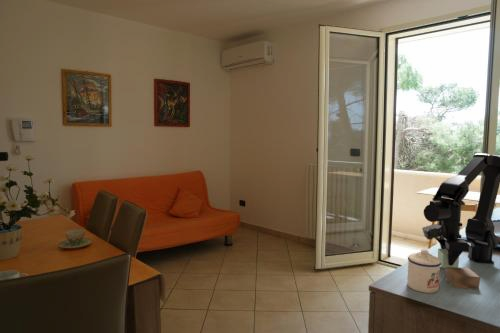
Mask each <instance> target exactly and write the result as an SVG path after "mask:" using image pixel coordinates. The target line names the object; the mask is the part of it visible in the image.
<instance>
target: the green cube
mask: <svg viewBox="0 0 500 333" xmlns="http://www.w3.org/2000/svg"><path fill="white" fill-rule="evenodd" d="M437 258H438V259H439V260H440V261H441V265H440V268H442V269H443V268H444V269H445V268H446V267H457V268H459V262H460V256H459V257H458V258H457V260H456V261H455V263H454V264H453V265H449V263H448V253H447V249H441V248H438V249H437Z"/></svg>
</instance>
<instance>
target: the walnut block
mask: <svg viewBox="0 0 500 333" xmlns="http://www.w3.org/2000/svg"><path fill="white" fill-rule="evenodd" d="M444 269H445V272H444V279H445V280H446V281H447V282H448V283H449V284H450V285H451V287H453V288H455V289H456V288H457V289H475V290H479V289H480V281H481V280H480V279H481V277H480V275H478V274H477V273H476V272H474V271H473V270H471V268H469V267H458V268H457V267H446V268H444Z"/></svg>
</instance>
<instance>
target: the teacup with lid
mask: <svg viewBox="0 0 500 333" xmlns="http://www.w3.org/2000/svg"><path fill="white" fill-rule="evenodd" d="M407 260H408V264H407V265H408V266H407V282H406V284H407V286H408V288H410V289H412V290H414V291H417V292H420V293H425V294H426V293H427V294H433V293H436V292H438V291H439V286H440V285H439V284H440V272H441V270H440V268H441V266H440V265H441V261H440V260H439V259H438V256H435V255H433V254H431V253H429V250H427V249H421V250H420V251H419V252H415V253H410V254H409V255H408V256H407Z"/></svg>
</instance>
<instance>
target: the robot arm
mask: <svg viewBox="0 0 500 333" xmlns="http://www.w3.org/2000/svg"><path fill="white" fill-rule="evenodd" d="M481 173H482V174H483V176H484V179H483V183H482V187H481V191H480V196H479V199H478V204H477V208H476V212H475V215H474V216H473V217H471V218H470V217H469V218H468V219H467V221H466V222H467V223H466V226H465V227H464V229H465V231H464V232H465V238H466V240H464V239H463V238H462V234H460V233H461V232H460V230H461V228H462V227H463V223H462V222H461V219H462V218H461V216H462V206H465V205H466V203H465V202H464V201H463V200H464V199H465V198H466V196H467V194H468V193H469V191H470V190H469V189H470V188H469V186H470V185H471V183H473V182H474V181H475V179H476V178H478V176H479V175H480V174H481ZM499 188H500V154H499V155H498V154H490V153H481V152H478V153H475V154H474V155H473V156H472V159H470V161H469V162H468V163H467V164H466V165H465V166H464V167H463V168H462V169H461V170H460V171H459V172H458V173H457V174H456V175H455V176H451V177H449V178H448V177H447V179H445V180H443V182H442V183H440V186H439V187H438V189H437V191H436V193H435V195H434V196H433V198H432V200H430V201H429V204H427V205H426V206H425V208H424V209H423V216H424V218H425V219H426V220H427V221H428V222H430V223H435V222H437V223H435V224H430V225H426V226H423V227H422V228H421V229H422V233H423V235H424V237H425V238H426V240H433V239H435V240H436V241H437V242H438V243H439V246H440V247H439V248H440V249H447V253H448V263H449V265H453V264H454V263H455V261H456V260H457V258H458V257H459V258H460V256H461V255H462V254H463V252H465V253H466V252H468V254H467V257H468V258H470V260H472V261H473V262H475V263H484V264H486V263H487V264H495V261H494V260H493V252H494V249H495V248H497V247H498V245H499V242H500V241H499V239H498V237H497V236H496V234H495V227H496V226H495V225H494V222H493V220H492V218H493V217H492V216H493V213H494V209H495V205H496V202H497V201H496V200H497V196H498V192H499ZM468 242H469V243H470V244H469V243H468Z"/></svg>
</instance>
